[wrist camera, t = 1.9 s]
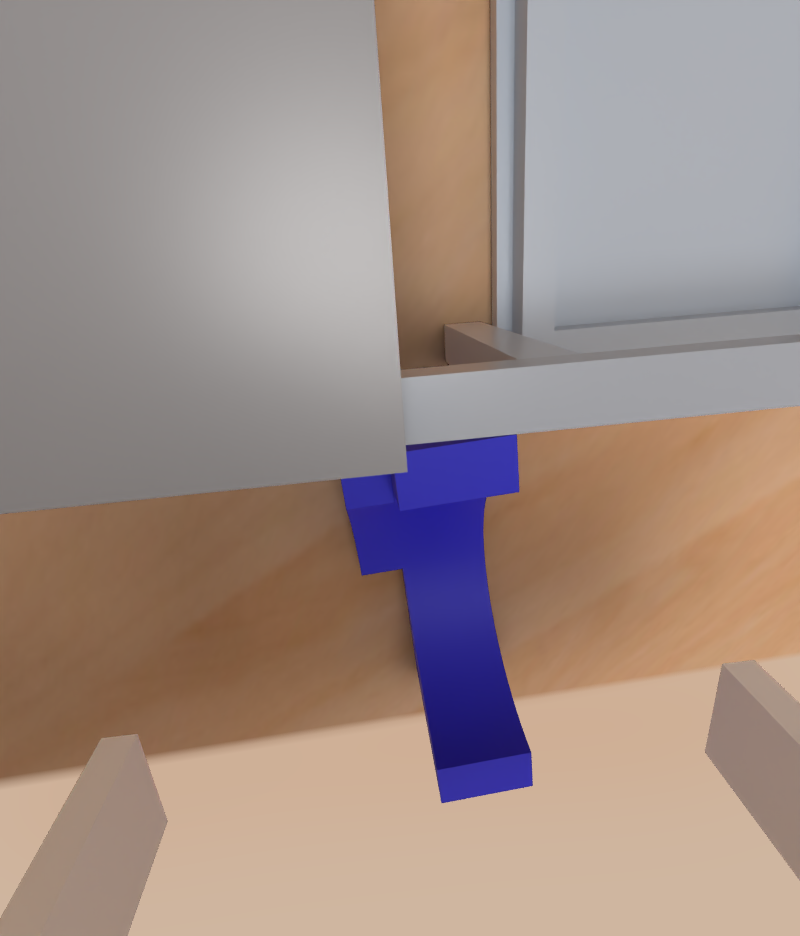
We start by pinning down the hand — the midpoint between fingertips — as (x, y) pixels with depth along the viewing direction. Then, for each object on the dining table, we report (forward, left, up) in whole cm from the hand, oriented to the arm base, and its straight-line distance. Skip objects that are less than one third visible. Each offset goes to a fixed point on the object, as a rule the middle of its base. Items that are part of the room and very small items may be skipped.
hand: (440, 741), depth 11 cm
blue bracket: (+1, 0, -9) cm, 9 cm away
